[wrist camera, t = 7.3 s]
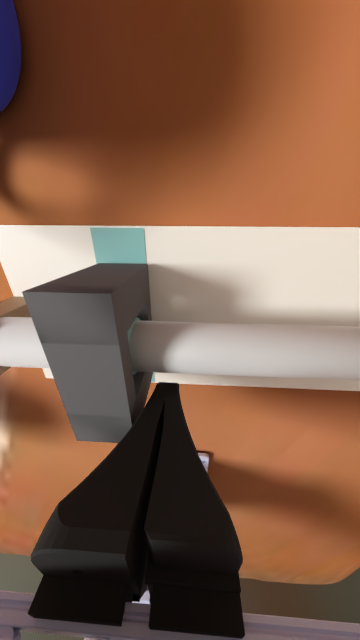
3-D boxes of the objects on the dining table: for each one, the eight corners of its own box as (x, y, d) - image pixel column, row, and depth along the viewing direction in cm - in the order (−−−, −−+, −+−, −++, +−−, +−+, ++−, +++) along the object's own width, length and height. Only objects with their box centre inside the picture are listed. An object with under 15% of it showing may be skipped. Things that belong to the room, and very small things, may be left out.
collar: (154, 367, 15) (134, 443, 10) (117, 365, 15) (76, 440, 10) (147, 263, 11) (110, 293, 6) (99, 263, 12) (21, 291, 6)
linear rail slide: (424, 390, 16) (529, 462, 11) (49, 374, 17) (-8, 432, 12) (549, 228, 10) (862, 228, 6) (-8, 225, 12) (-147, 222, 7)
